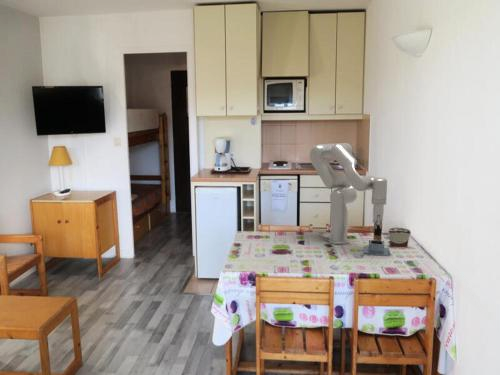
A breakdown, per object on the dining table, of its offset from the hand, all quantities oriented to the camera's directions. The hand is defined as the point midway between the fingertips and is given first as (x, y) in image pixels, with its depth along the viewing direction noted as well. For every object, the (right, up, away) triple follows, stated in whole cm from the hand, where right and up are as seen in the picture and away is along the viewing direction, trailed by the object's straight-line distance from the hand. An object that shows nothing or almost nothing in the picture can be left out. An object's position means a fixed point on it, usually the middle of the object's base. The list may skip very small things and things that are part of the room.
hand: (377, 233), depth 236 cm
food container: (+15, -8, +12) cm, 21 cm away
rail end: (0, -3, +1) cm, 3 cm away
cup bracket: (0, -10, +2) cm, 10 cm away
